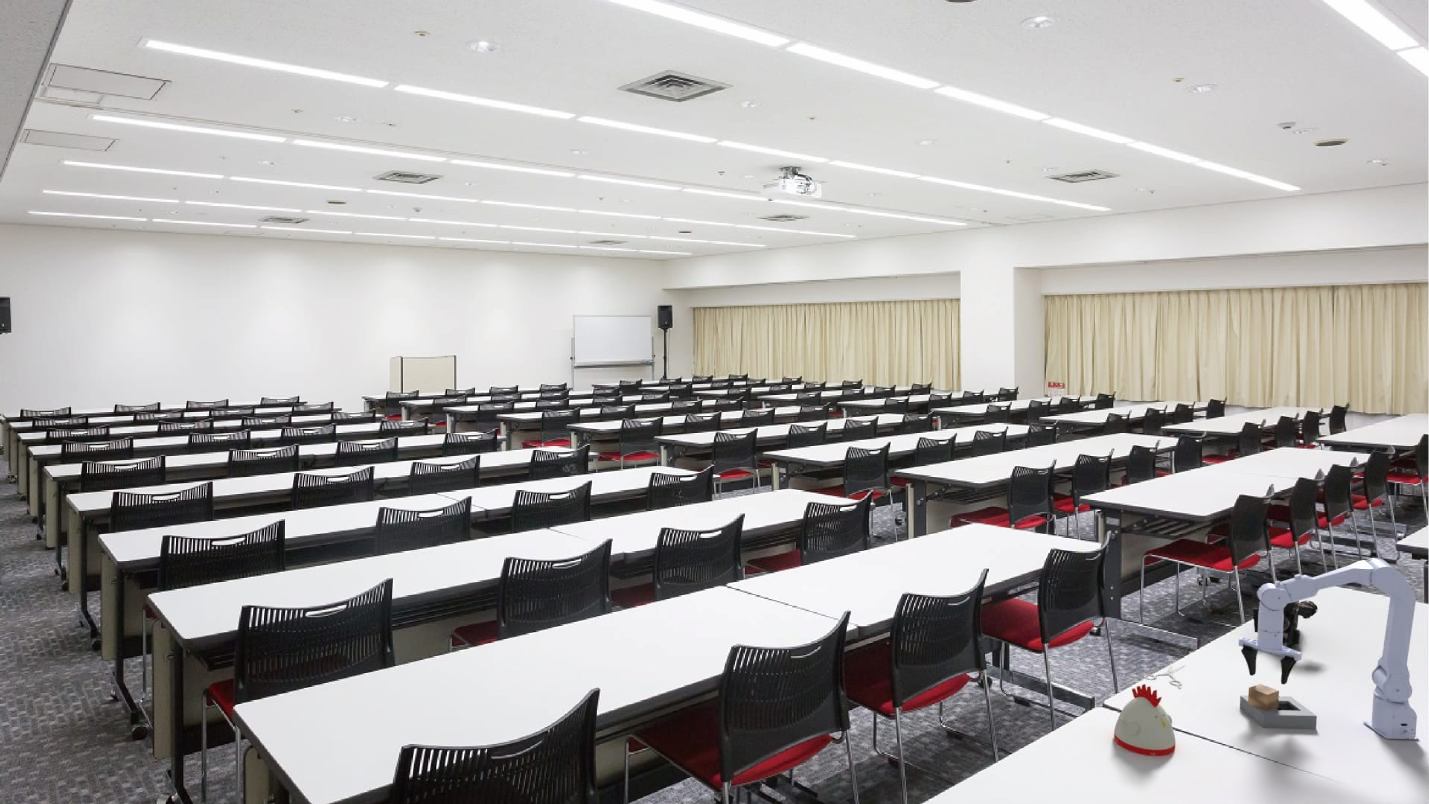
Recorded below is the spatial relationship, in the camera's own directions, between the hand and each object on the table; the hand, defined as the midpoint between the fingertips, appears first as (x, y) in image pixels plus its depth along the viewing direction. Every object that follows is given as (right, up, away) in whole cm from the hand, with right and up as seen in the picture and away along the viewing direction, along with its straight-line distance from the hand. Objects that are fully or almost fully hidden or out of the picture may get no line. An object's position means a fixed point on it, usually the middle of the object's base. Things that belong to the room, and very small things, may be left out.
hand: (1268, 678), depth 242 cm
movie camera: (+40, -4, +56) cm, 69 cm away
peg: (-2, -10, -1) cm, 10 cm away
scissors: (-12, -8, +29) cm, 32 cm away
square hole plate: (+2, -10, -1) cm, 10 cm away
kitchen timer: (-40, -12, -14) cm, 44 cm away
